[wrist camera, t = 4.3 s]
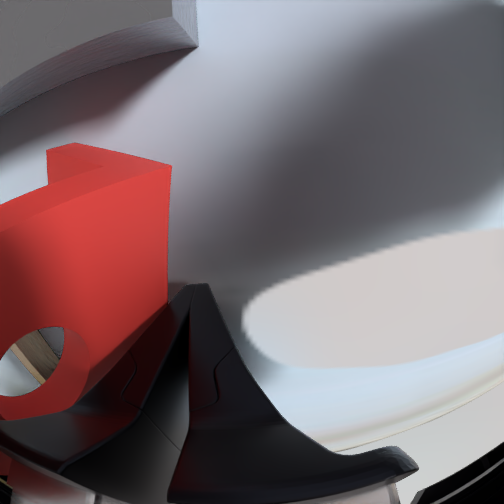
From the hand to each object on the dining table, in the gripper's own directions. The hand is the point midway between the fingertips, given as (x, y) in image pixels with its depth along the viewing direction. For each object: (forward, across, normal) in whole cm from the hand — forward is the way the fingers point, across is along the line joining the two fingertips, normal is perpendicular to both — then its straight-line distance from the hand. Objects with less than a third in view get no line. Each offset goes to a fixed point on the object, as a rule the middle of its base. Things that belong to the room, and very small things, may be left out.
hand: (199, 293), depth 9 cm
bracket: (0, +3, +1) cm, 3 cm away
